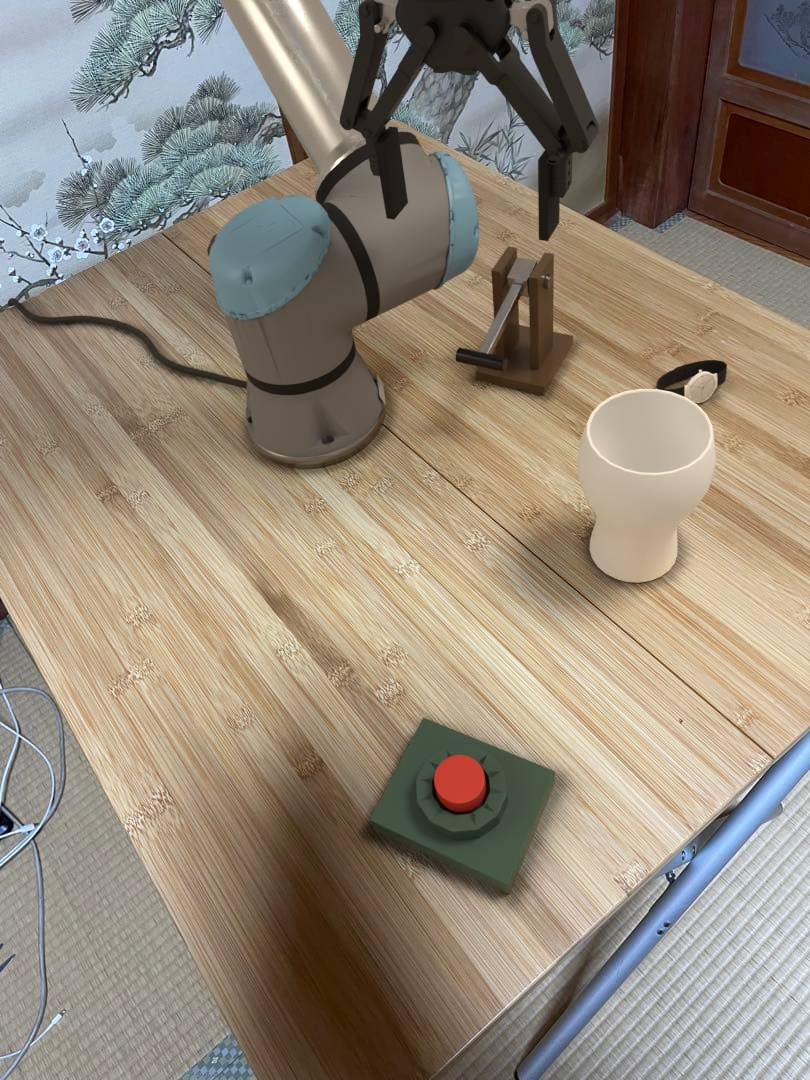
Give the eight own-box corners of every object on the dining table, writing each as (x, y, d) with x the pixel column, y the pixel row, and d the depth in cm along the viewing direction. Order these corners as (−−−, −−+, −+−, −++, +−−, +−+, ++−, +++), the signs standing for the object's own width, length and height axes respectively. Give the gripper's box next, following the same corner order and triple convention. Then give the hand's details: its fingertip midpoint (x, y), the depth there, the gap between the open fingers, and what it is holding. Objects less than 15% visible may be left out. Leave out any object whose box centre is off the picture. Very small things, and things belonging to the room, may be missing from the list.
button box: (373, 830, 63) (365, 811, 60) (426, 729, 67) (420, 706, 64) (509, 895, 59) (507, 878, 56) (555, 782, 63) (555, 761, 60)
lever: (503, 378, 81) (500, 362, 79) (457, 367, 83) (453, 352, 81) (551, 279, 86) (550, 262, 84) (506, 272, 88) (504, 254, 85)
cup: (667, 614, 71) (691, 499, 59) (553, 569, 76) (555, 454, 64) (711, 527, 76) (741, 405, 64) (602, 490, 81) (611, 369, 69)
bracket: (543, 395, 90) (543, 294, 80) (476, 379, 93) (467, 280, 83) (573, 344, 94) (576, 243, 84) (507, 330, 97) (503, 231, 87)
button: (428, 800, 60) (425, 791, 59) (449, 757, 62) (447, 747, 61) (473, 820, 59) (472, 811, 57) (493, 776, 61) (492, 766, 59)
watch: (669, 417, 85) (674, 390, 83) (644, 390, 88) (647, 363, 85) (734, 391, 86) (741, 364, 84) (708, 365, 89) (713, 338, 87)
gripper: (251, -67, 55) (319, 225, 72) (624, -67, 46) (604, 268, 62) (307, -105, 59) (359, 180, 75) (661, -112, 50) (633, 214, 66)
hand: (470, 221), depth 69 cm, fingers open, 13 cm apart
